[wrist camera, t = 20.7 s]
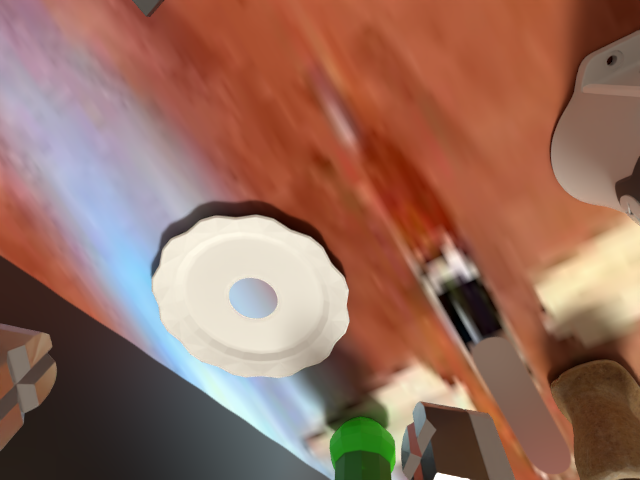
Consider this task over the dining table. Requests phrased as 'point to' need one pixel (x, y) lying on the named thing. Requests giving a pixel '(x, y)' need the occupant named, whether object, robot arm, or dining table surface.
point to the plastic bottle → (362, 451)
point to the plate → (251, 262)
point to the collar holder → (148, 6)
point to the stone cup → (602, 419)
